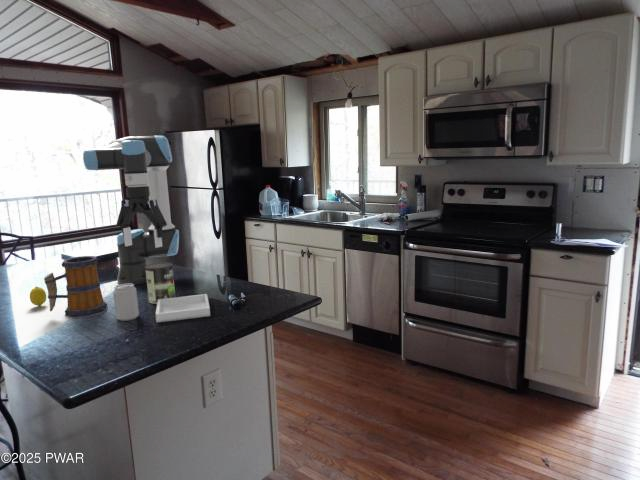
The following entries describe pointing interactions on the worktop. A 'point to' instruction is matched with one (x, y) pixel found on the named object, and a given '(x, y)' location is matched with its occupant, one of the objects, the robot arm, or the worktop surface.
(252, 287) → the worktop surface
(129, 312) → the can
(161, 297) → the coffee can
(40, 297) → the lemon
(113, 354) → the worktop surface
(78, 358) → the worktop surface
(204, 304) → the tray
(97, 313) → the mug
